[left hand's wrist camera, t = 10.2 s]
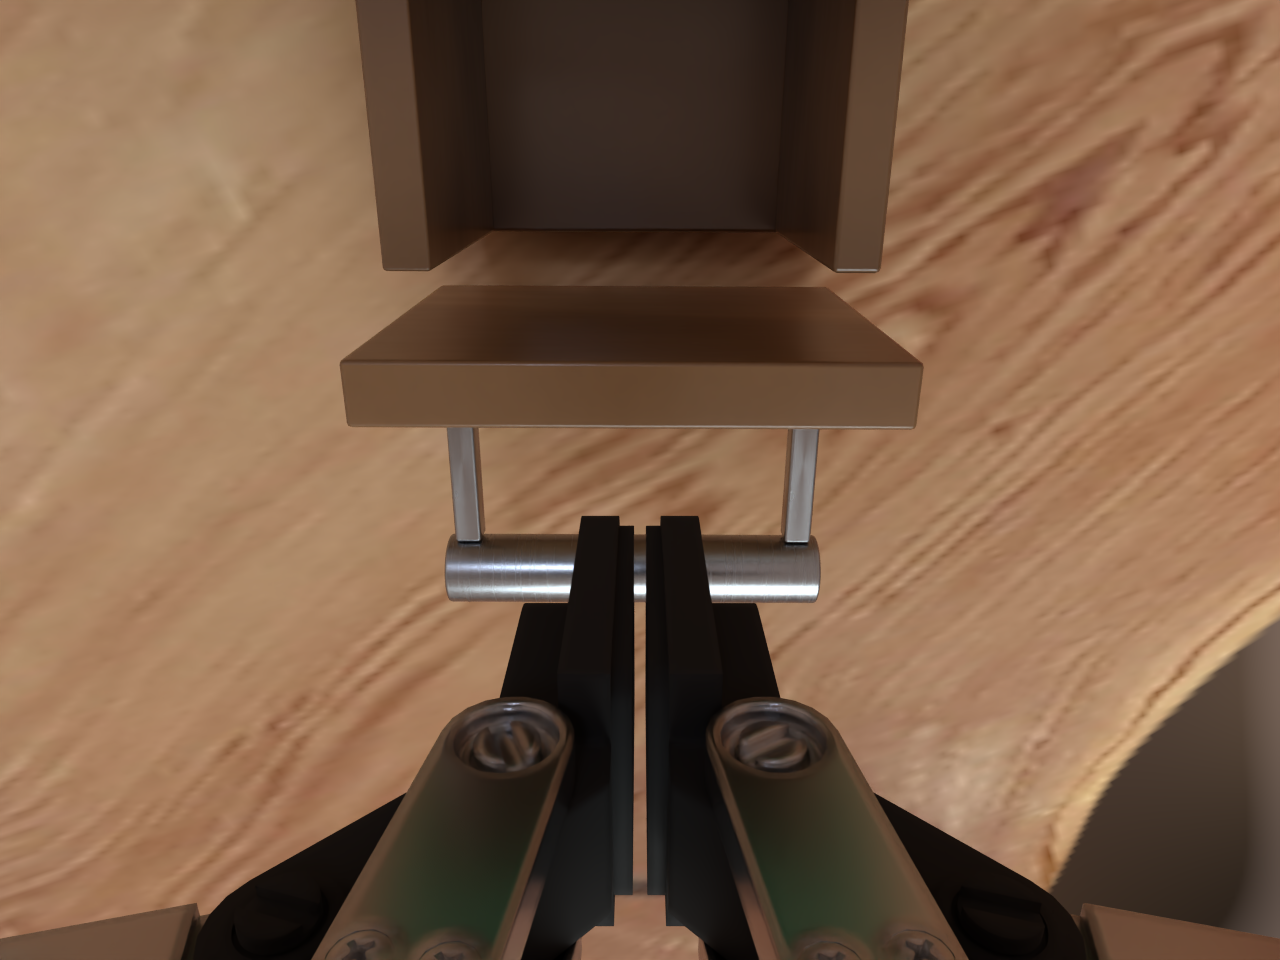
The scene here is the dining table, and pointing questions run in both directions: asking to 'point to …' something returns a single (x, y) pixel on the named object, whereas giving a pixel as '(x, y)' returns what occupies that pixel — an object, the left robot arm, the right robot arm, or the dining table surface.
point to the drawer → (632, 202)
